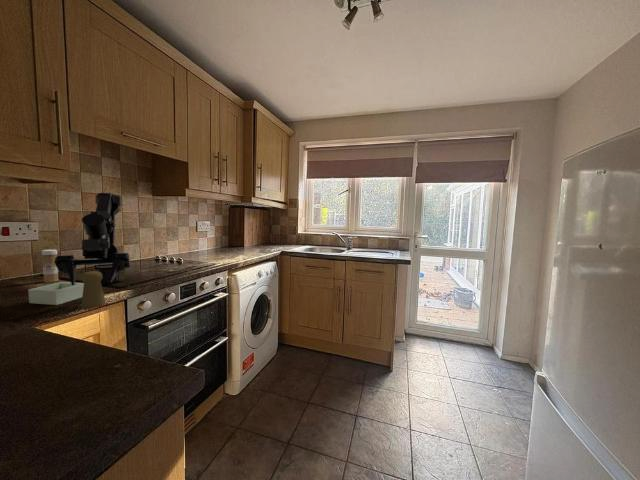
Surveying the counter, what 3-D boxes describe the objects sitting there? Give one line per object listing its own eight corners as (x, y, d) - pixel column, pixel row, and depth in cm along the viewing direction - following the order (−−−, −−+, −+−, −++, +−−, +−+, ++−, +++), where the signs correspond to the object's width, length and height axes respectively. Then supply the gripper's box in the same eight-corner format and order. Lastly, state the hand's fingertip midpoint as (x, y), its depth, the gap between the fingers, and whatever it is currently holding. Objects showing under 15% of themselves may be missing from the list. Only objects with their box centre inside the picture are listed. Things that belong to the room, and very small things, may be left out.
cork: (91, 309, 82) (89, 274, 81) (75, 307, 83) (74, 272, 82) (110, 303, 88) (109, 270, 87) (95, 301, 89) (94, 269, 88)
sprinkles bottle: (43, 283, 108) (41, 250, 107) (44, 281, 112) (42, 249, 111) (58, 281, 112) (56, 250, 110) (59, 279, 115) (57, 248, 114)
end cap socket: (62, 294, 96) (61, 281, 95) (87, 295, 94) (86, 283, 94) (29, 303, 86) (28, 289, 85) (56, 304, 85) (55, 291, 84)
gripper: (54, 230, 83) (43, 271, 74) (127, 229, 92) (125, 266, 84) (63, 251, 90) (54, 291, 81) (131, 249, 99) (129, 285, 91)
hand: (92, 283), depth 84 cm, fingers open, 9 cm apart
